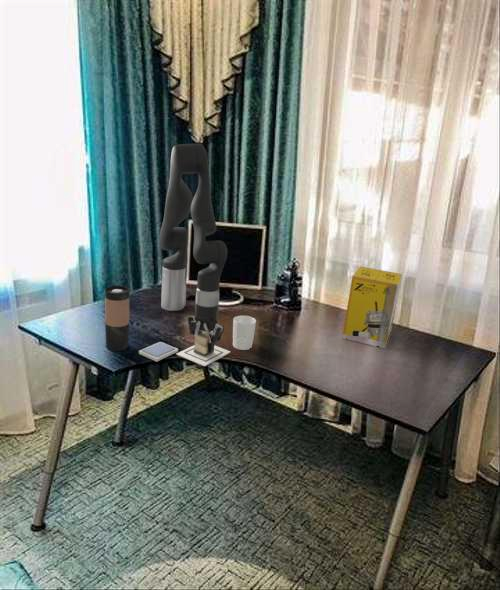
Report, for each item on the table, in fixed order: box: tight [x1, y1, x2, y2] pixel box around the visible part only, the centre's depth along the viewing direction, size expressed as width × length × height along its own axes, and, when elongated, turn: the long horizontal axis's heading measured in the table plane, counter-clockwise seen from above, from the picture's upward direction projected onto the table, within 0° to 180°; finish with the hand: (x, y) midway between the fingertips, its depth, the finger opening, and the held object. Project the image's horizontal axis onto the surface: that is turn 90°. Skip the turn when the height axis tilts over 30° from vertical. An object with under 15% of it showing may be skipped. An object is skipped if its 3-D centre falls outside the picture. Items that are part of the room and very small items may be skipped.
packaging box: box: [342, 266, 403, 344], centre depth 186 cm, size 16×16×25 cm
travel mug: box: [104, 285, 130, 352], centre depth 159 cm, size 8×8×20 cm
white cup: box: [232, 315, 257, 351], centre depth 170 cm, size 8×8×10 cm
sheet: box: [175, 344, 231, 367], centre depth 163 cm, size 14×12×1 cm
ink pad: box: [138, 341, 179, 363], centre depth 161 cm, size 10×8×1 cm
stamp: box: [194, 331, 214, 357], centre depth 162 cm, size 5×5×6 cm
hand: (204, 349), depth 163 cm, fingers closed on stamp, 4 cm apart
